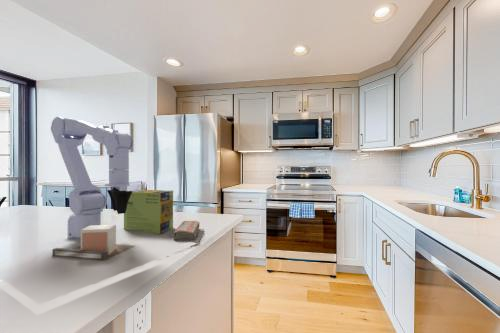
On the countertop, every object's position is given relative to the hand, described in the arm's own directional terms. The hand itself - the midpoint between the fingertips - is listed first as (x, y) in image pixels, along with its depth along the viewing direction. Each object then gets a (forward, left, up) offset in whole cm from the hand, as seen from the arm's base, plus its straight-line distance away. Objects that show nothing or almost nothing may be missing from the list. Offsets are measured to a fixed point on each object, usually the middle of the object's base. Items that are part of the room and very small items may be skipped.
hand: (119, 211), depth 80 cm
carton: (+3, -11, -9) cm, 15 cm away
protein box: (-1, +18, -11) cm, 21 cm away
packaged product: (+18, +12, -11) cm, 24 cm away
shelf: (+1, -10, -10) cm, 14 cm away
